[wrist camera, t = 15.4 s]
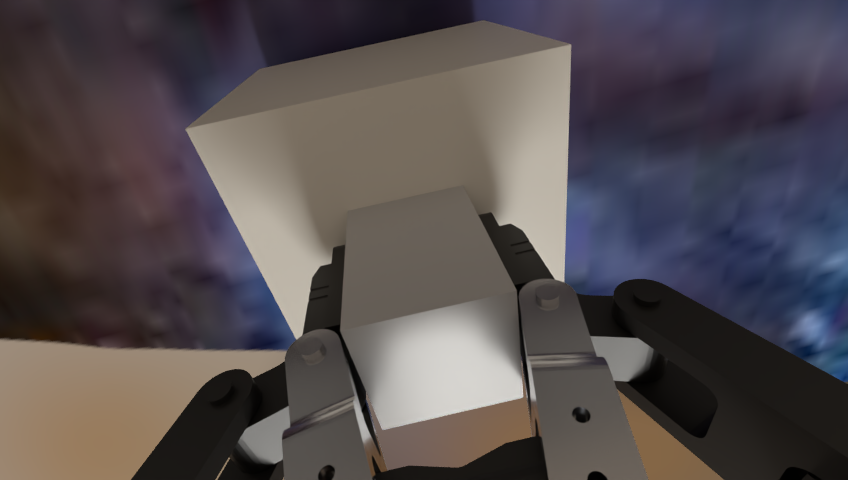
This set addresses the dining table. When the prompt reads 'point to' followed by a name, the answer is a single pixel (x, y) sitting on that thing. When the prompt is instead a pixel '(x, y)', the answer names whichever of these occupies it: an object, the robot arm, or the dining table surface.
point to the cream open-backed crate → (404, 199)
